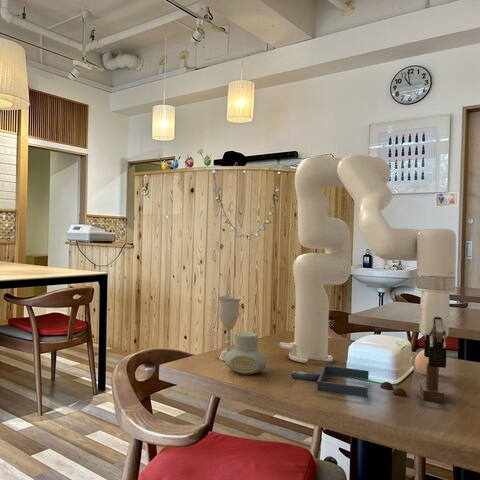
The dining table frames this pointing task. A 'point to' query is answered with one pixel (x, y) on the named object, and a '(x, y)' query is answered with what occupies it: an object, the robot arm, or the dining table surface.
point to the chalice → (228, 317)
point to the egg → (421, 363)
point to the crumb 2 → (399, 392)
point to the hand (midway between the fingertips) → (434, 361)
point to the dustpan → (334, 386)
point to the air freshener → (245, 355)
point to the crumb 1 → (386, 386)
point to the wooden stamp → (432, 386)
